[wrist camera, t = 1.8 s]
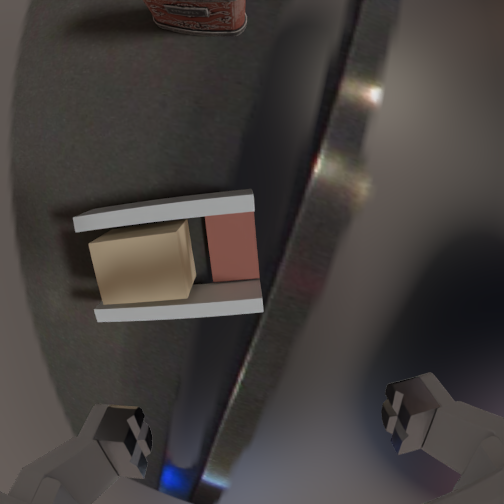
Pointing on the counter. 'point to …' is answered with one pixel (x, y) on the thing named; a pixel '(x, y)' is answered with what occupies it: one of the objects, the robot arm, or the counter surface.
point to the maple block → (144, 263)
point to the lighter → (200, 16)
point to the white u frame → (201, 295)
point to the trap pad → (232, 246)
